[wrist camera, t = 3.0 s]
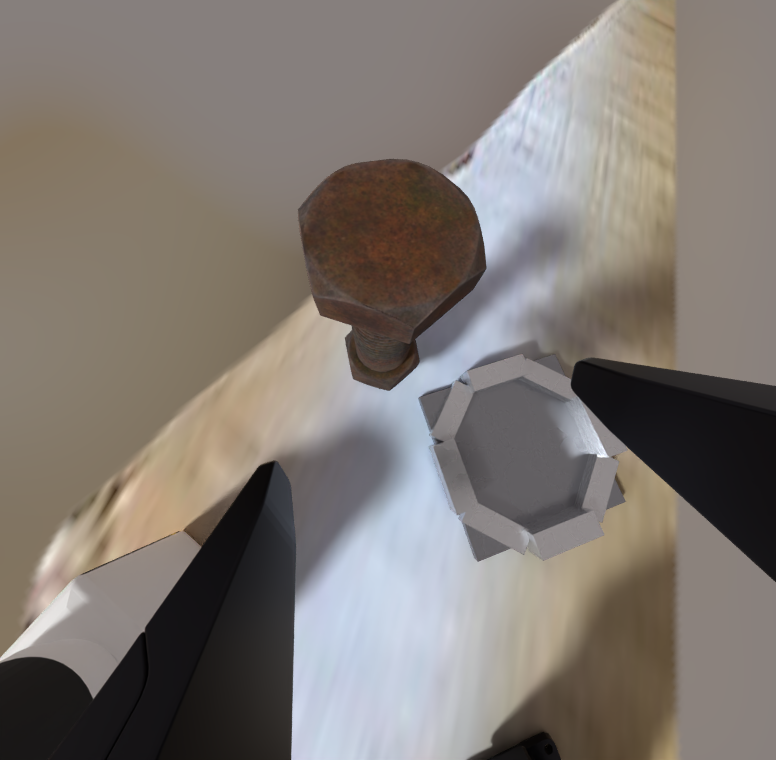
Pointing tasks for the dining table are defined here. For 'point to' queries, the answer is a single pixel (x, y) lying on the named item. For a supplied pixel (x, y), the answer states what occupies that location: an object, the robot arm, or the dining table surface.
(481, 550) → the ring collar
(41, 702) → the medicine bottle
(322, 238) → the bolt
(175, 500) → the dining table surface
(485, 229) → the dining table surface
